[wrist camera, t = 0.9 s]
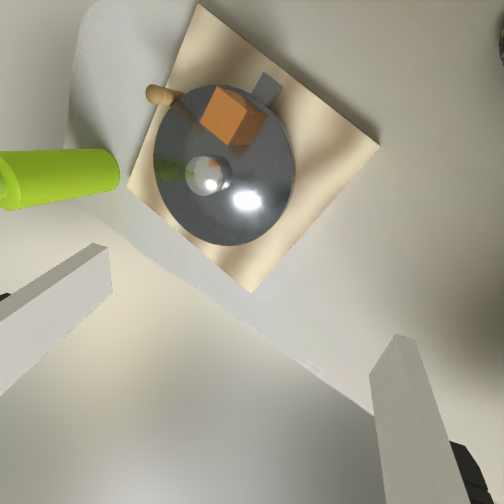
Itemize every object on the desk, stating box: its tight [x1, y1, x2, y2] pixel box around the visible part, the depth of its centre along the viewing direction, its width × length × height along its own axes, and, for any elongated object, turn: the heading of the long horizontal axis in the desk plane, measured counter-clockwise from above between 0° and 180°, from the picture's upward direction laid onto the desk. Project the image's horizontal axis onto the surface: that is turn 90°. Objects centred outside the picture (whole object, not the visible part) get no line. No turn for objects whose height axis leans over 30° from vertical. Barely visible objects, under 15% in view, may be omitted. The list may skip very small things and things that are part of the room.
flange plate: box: [153, 72, 296, 246], centre depth 27 cm, size 18×16×6 cm
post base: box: [126, 4, 380, 294], centre depth 30 cm, size 22×22×6 cm
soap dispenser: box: [0, 148, 120, 210], centre depth 31 cm, size 6×7×20 cm
